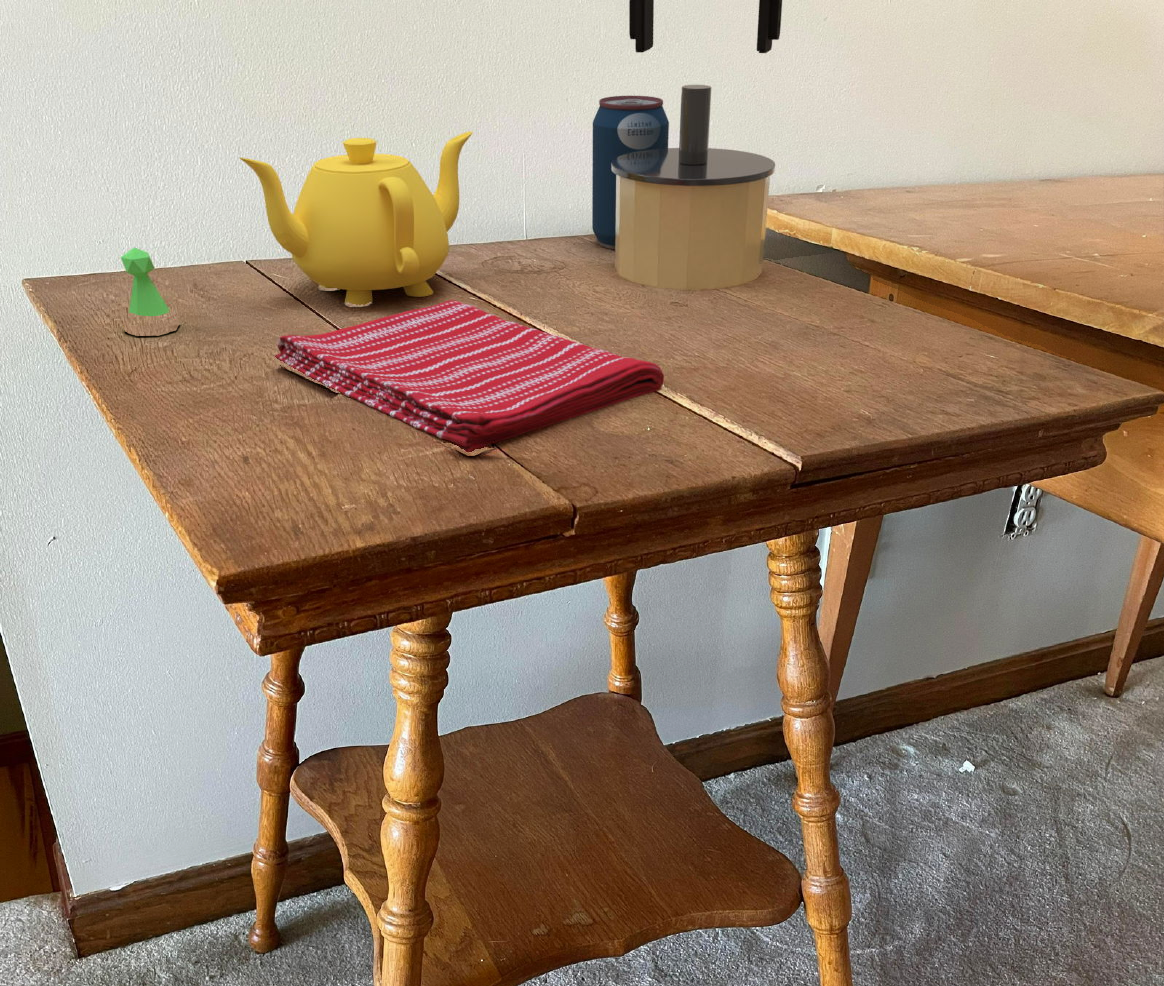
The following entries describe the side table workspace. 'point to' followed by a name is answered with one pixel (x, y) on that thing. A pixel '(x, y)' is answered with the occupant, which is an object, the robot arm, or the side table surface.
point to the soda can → (621, 151)
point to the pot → (690, 233)
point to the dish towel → (467, 372)
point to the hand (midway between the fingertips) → (703, 50)
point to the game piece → (143, 285)
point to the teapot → (366, 219)
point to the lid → (693, 153)
